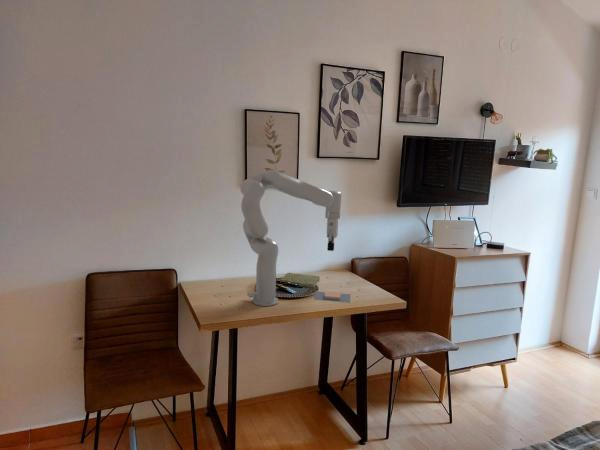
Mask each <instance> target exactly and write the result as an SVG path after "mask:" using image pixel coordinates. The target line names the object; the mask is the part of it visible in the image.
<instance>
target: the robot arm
mask: <svg viewBox="0 0 600 450" xmlns="http://www.w3.org/2000/svg"><path fill="white" fill-rule="evenodd" d="M267 189H273V190H276V191H279V192H280V193H283V194H286V195H289V196H290V197H293V198H297V199H301V200H306V201H308V202H311V203H312V204H313V205H316V206H319V207H325V216H324V217H325V218H324V219H326V220H327V221H326V238H327V239H328V240H327V251H329V252H333V251H334V250H335V239H337V238H338V235H339V234H338V233H339V219H341V206H342V192H341V191H339V190H328V191H327V190H325V189H322V187H321V188H320V187H318V186H315V185H313V184H311V183H308V182H305V181H303V180H301V179H298V178H296V177H292V176H290V175H288V174H285V173H283V172H281V171H279V170H273V169H269V170H268V169H267V170H266V171H265V170H264V171H263V172H261V173H258V174H255V175H254V176H251V177H248V178H247V179H245V180H243V181H242V182H241V185H240V192H241V194H242V195H243V196H242V200H241V202H240V203H241V205H240V207H241V212H242V214H243V218H244V220H243V224H242V228H243V231H244V234H245V237H246V239H247V242H248V243H249V246H250V248H251V250H252V251H253V252H254V253H255V254H257V261H256V272H255V273H256V277H255V280H256V281H255V291H254V292H252V291H248V292H247V296H248V298H252V303H253V304H255V305H257V306H259V307H260V306H261V307H269V306H270V307H271V306H275V305H277V304H278V303H279V298H278V297H276V293H277V292H276V291H277V289H276V287H277V261H278V256H279V246H278V244H277V243H276V241H275V240H274V239H272V238H269V237H267V235H268V233H269V226H268V223H267V221H266V219H265V217H264V214H263V211H262V209H261V201H262V198H263V197H264V194H265V192H266V190H267Z"/></svg>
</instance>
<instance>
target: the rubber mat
mask: <svg viewBox="0 0 600 450" xmlns="http://www.w3.org/2000/svg"><path fill="white" fill-rule="evenodd" d="M324 295H325V291H316V292H315V294H314V298H313V300H315V301H325V302H326V301H328V302H338V303H351V295H352V294H351V293H341V297H340V300H330V299H324Z"/></svg>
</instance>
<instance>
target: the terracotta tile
mask: <svg viewBox="0 0 600 450" xmlns="http://www.w3.org/2000/svg"><path fill="white" fill-rule="evenodd" d="M324 292H325V295H324V299H330V300H340V297H341V294H342V292H339V291H327V290H326V291H324Z"/></svg>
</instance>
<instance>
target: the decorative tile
mask: <svg viewBox="0 0 600 450" xmlns="http://www.w3.org/2000/svg"><path fill="white" fill-rule="evenodd" d="M320 278H321V277H320V276H319V275H313V274H302V273H292V272H287V273H285V274H284V276H283V277H282V278H281V280H280V283H281V282H290V283H293V284H297V285H299V286H298V287H302V288H303V287H305V288H315V287H316V285H317V283H318V282H320V281H321V280H320Z"/></svg>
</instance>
